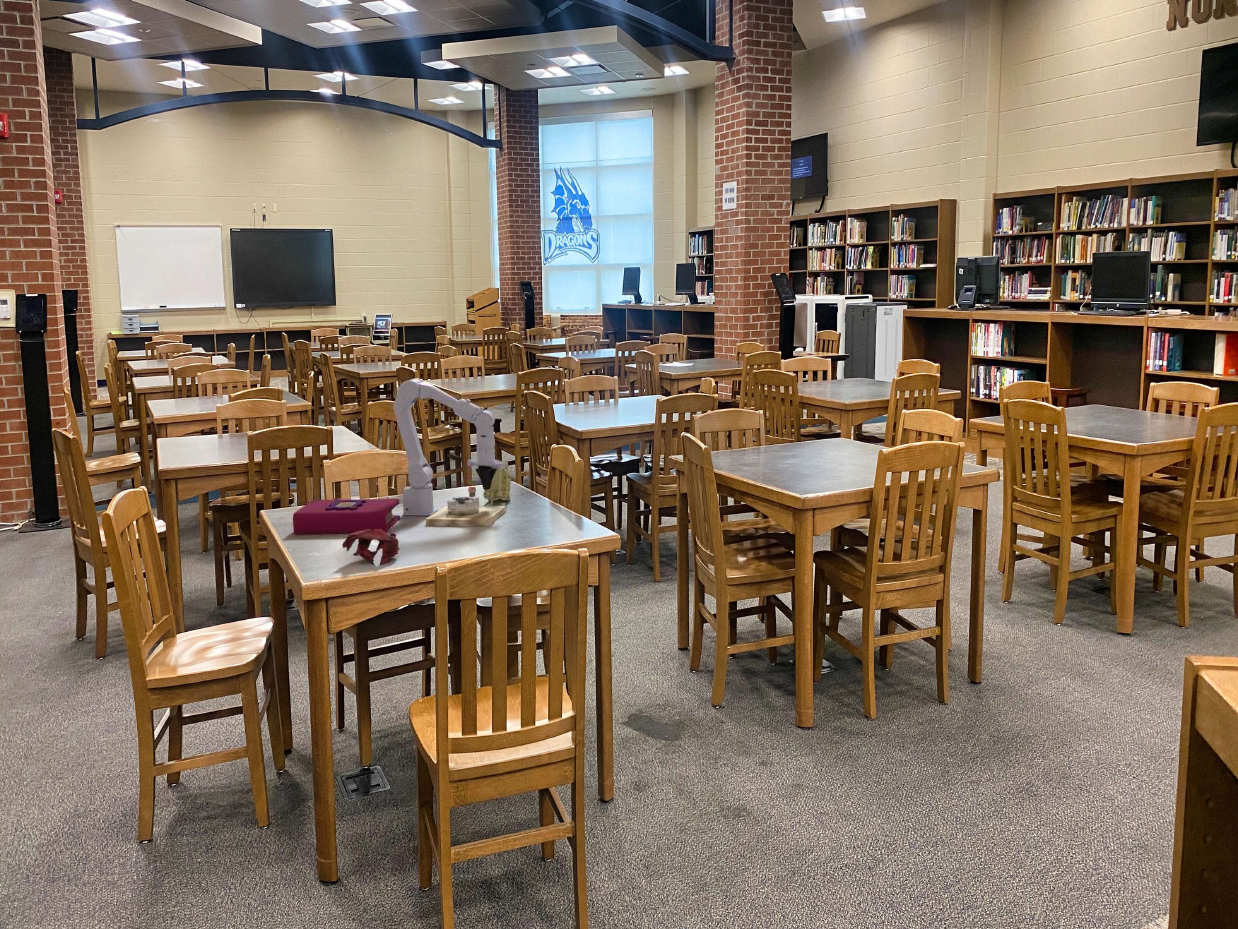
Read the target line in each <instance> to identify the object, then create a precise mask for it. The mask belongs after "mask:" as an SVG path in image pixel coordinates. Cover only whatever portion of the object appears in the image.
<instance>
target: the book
mask: <svg viewBox="0 0 1238 929" xmlns="http://www.w3.org/2000/svg"><path fill="white" fill-rule="evenodd" d="M399 504H400V498H395V497H394V498H366V499H365V498H360V499H359V498H358V499H357V498H356V499H312V500H310V501H308V503H306V504H305V505H303V506H302V507H301V508H299V509H298V510H296V511H294V512H293V515H292V526H293V528H292V529H293V534H294V535H325V534H324V533H350V534H351V533H354V532H358V531H362V530H367V529H376V530H378V529H382V530H383V531H384V532H386V533H388V532H389V531H390V530H391V529H392V528H393V527H394V526H395V525H396V524H397V523H398V522H399V521H400V520H401V515H400V514H399V515H398V514H394V515H393V511H392V510H394V509H395V508H396V507H397V506H399ZM398 520H399V521H398ZM397 521H398V522H397ZM396 522H397V523H396ZM395 523H396V524H395ZM394 524H395V525H394ZM393 525H394V526H393ZM391 527H392V528H391Z"/></svg>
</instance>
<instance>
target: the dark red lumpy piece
mask: <svg viewBox="0 0 1238 929" xmlns="http://www.w3.org/2000/svg"><path fill="white" fill-rule="evenodd" d="M396 536H397V534H396V533H395V532H392V533H390V534H389V533H388V532H387V533H386V532H384V531H383V530H382V529H378V530H376V529H367V530H362V531H358V532H354V533H350V534H348V535H347V536H345V537H346V538H345V540H344V541H343V543H342V544H341V545H342V548H343V549H346V550H347V555H348V556H354V557H359V556H360V557H361V558H363V560H365V561H367V562H368V561H370V562H371V563H373V564H374V565H375V567H379V566H380V565H381V564H382V565H383V564H385V563H389V561H391V558H394V557H395V556H397V555H398V554H399V551H400V547H399V540H398V538H397V537H396ZM378 565H379V566H378Z"/></svg>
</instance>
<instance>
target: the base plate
mask: <svg viewBox="0 0 1238 929" xmlns="http://www.w3.org/2000/svg"><path fill="white" fill-rule="evenodd" d="M506 508H507V507H506V505H493V506H491V505H480V504H479V510H480V511H479V512H478V513H476V514H471V515H451V514H448V504H446V505H444V506H443V507H441V508H440V509H438V511H436V512H435V513H433V514H432V515H430V516H428V517H426V518H425V525H426V526H438V525H450V526H449V527H451V526H452V527H453V526H454V527H489V526H490V525H492V524H493V523H494V522H496V521H497V520H498V519H499V518H500V517H502V516H501V515H504V514H505V513H506V512H507V509H506Z"/></svg>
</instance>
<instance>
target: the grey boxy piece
mask: <svg viewBox="0 0 1238 929" xmlns="http://www.w3.org/2000/svg"><path fill="white" fill-rule="evenodd" d="M467 491H468V494H469V495H468V496H460V495H459V496H452V499H449V500H447V502H446V503H447V505H448V514H451V515H471V514H476V513H478V512H479V511H480V510H479V505H480V497H479V496H476V492H477V488H476V486H473V485H471V486H469V487H468V489H467Z"/></svg>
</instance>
